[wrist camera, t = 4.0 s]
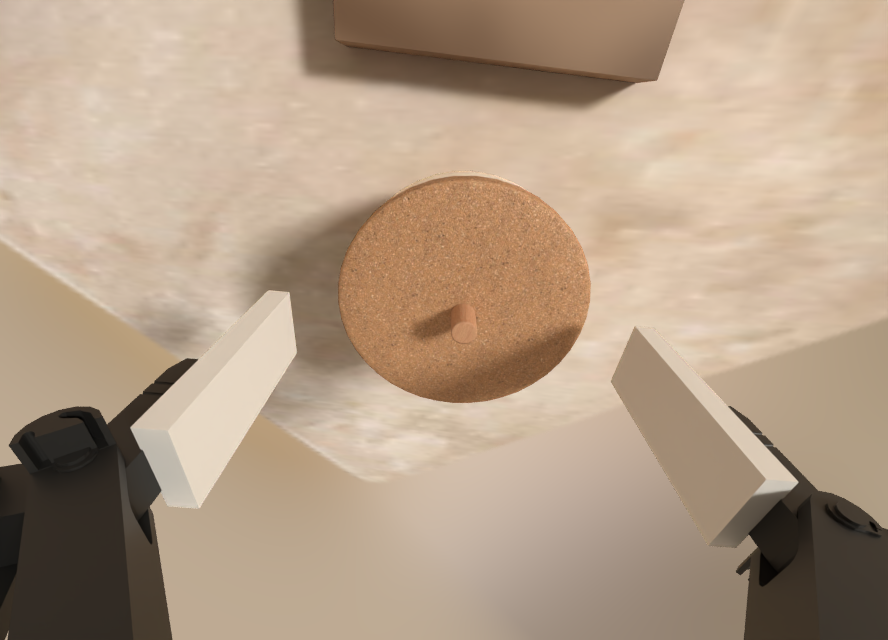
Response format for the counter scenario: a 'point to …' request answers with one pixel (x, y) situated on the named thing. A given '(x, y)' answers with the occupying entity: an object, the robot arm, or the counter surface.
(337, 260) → the counter surface
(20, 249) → the counter surface
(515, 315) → the lidded jar
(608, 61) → the walnut board
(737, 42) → the counter surface
